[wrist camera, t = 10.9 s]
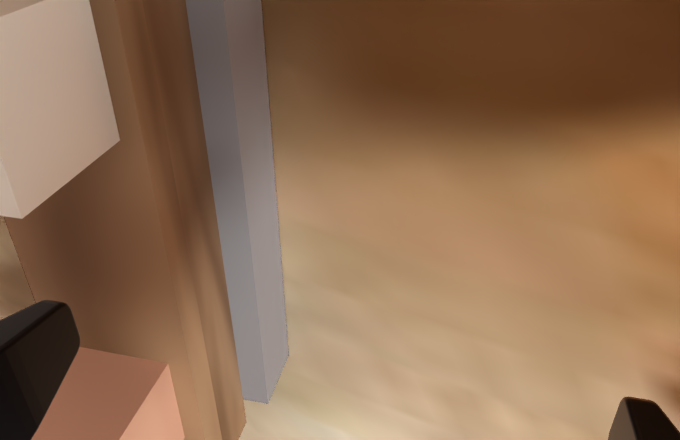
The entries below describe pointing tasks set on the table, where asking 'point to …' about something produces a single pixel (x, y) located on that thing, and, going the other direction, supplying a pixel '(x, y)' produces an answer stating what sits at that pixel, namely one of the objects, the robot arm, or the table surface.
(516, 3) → the table surface
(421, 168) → the table surface
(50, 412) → the block
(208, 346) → the tan long bar
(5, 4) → the block
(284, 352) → the block
